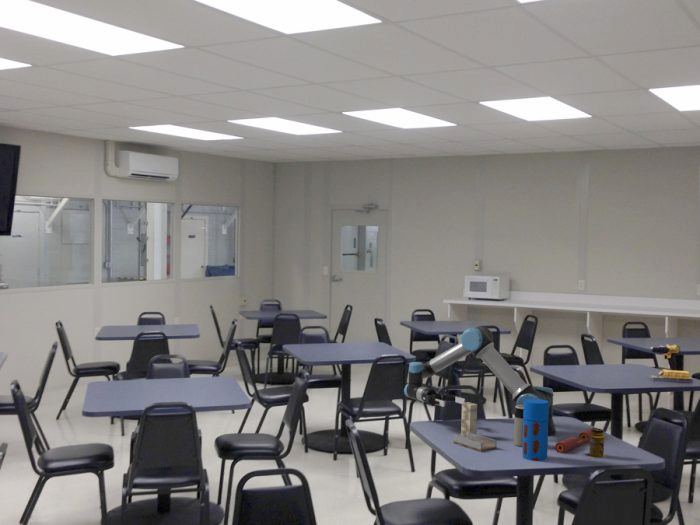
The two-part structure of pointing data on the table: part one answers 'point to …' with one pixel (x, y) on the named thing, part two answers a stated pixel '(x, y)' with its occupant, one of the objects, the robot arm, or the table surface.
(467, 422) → the pale wooden block
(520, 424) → the travel mug
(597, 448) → the condiment
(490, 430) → the table surface
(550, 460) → the table surface
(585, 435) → the blood vessel
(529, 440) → the thermos
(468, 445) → the floor track
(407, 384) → the robot arm
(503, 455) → the table surface
